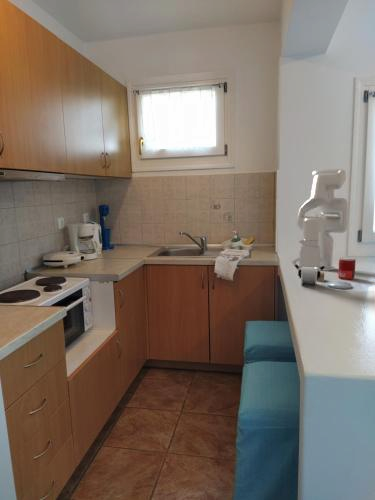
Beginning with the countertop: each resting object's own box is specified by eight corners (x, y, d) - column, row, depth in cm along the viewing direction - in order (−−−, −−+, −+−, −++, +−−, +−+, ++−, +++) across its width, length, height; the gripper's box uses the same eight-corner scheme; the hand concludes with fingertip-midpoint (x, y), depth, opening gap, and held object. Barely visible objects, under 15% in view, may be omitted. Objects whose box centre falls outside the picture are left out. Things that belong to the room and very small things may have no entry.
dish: (324, 283, 184) (324, 281, 184) (346, 283, 184) (346, 281, 183) (330, 288, 174) (330, 286, 173) (354, 289, 173) (354, 286, 172)
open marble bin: (301, 282, 186) (302, 268, 185) (316, 283, 184) (316, 269, 183) (301, 286, 180) (301, 271, 178) (316, 287, 177) (316, 272, 176)
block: (315, 279, 193) (316, 272, 193) (323, 279, 192) (324, 272, 192) (315, 281, 190) (316, 273, 189) (323, 281, 188) (324, 274, 188)
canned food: (355, 280, 190) (357, 259, 188) (339, 279, 192) (340, 259, 190) (352, 277, 197) (353, 257, 196) (336, 276, 199) (337, 256, 197)
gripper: (291, 243, 178) (290, 278, 181) (329, 245, 172) (327, 281, 175) (292, 241, 185) (291, 275, 188) (329, 243, 179) (327, 277, 182)
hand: (309, 278), depth 181 cm, fingers open, 7 cm apart
